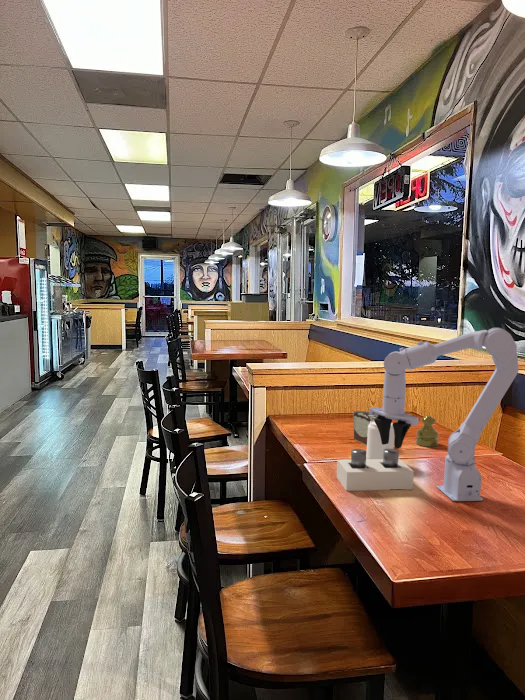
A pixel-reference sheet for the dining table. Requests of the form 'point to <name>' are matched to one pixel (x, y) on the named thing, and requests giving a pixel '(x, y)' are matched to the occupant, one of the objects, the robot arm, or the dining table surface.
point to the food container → (362, 425)
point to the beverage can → (377, 442)
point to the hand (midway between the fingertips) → (391, 445)
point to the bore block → (374, 476)
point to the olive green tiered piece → (427, 433)
